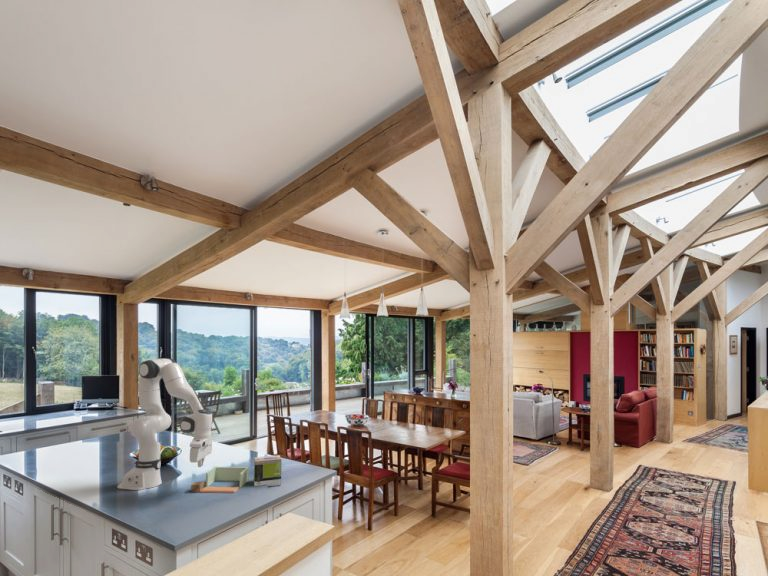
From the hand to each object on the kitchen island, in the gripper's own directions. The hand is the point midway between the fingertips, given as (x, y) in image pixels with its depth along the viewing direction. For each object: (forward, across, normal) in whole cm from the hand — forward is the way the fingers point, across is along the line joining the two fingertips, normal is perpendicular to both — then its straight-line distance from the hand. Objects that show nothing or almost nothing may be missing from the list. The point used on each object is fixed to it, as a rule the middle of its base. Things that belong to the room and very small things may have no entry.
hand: (200, 466), depth 240 cm
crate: (+14, -12, +12) cm, 21 cm away
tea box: (+13, -15, +34) cm, 39 cm away
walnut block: (+14, 0, -1) cm, 14 cm away
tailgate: (+12, -5, +11) cm, 17 cm away
